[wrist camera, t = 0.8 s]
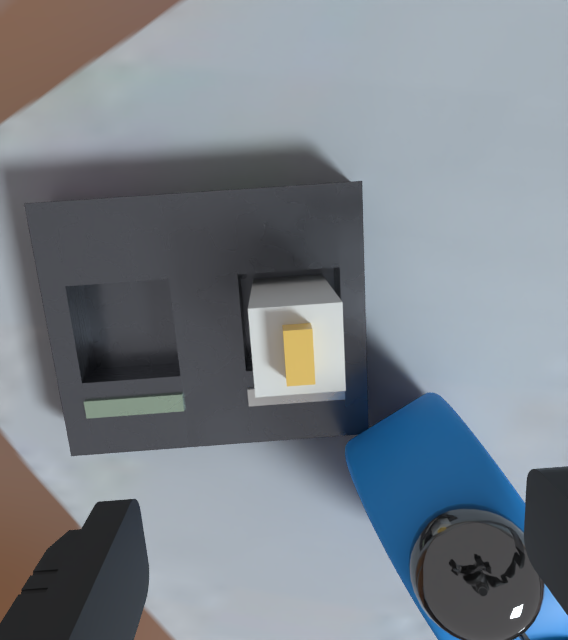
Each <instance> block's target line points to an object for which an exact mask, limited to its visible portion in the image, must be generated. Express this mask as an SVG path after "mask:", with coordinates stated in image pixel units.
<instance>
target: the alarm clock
mask: <svg viewBox="0 0 568 640" xmlns="http://www.w3.org/2000/svg"><path fill="white" fill-rule="evenodd" d="M345 457H346V462H347V466H348V469H349V472H350V475H351V478H352V480H353V483H354V485H355V488H356V490H357V493H358V495H359V497H360V499H361V502H362V504H363V506H364V508H365V510H366V513H367V515H368V517H369V519H370V521H371V523H372V525H373V527H374V529H375V531H376V533H377V535H378V537H379V539H380V541H381V543H382V545H383V547H384V549H385V551H386V553H387V554H388V556H389V558H390V560H391V562H392V564H393V565H394V567H395V569H396V571H397V573H398V574H399V576H400V578H401V580H402V582H403V583H404V585H405V587H406V588H407V590H408V592H409V594H410V595H411V597H412V599H413V600H414V602H415V604H416V605H417V607H418V609H419V610H420V612H421V614H422V615H423V617H424V618H425V620H426V622H427V623H428V625H429V626H430V628H431V629H432V631H433V632H434V634H435V636H436V637H437V639H438V640H568V615H567V614H566V613H565V611H564V610H563V608H562V607H561V606H560V604H559V603H558V602H557V600H556V599H555V597H554V596H553V595H552V593H551V592H550V590H549V589H548V588H547V586H546V585H545V584H544V582H543V581H542V579H541V578H540V577H539V575H538V574H537V572H536V571H535V570H534V568H533V566H532V564H531V563H530V560H529V558H528V555H527V552H526V548H525V543H524V521H525V503H524V501H523V500H522V498H521V497H520V496H519V494H518V493H517V491H516V490H515V489H514V487H513V486H512V484H511V483H510V482H509V480H508V479H507V478H506V476H505V475H504V473H503V472H502V471H501V469H500V468H499V467H498V465H497V464H496V463H495V461H494V460H493V459H492V457H491V456H490V455H489V453H488V452H487V451H486V449H485V448H484V447H483V445H482V444H481V443H480V442H479V440H478V439H477V438H476V436H475V435H474V434H473V433H472V431H471V430H470V429H469V428H468V426H467V425H466V424H465V423H464V421H463V420H462V419H461V418H460V417H459V415H458V414H457V413H456V412H455V411H454V410H453V408H452V407H451V406H450V405H449V404H448V403H447V402H446V401H445V400H444V399H443V398H442V397H441V396H439V395H438V394H435V393H426V394H424V395H422V396H421V397H419V398H417V399H416V400H414V401H413V402H411V403H409V404H408V405H406V406H405V407H403V408H401V409H400V410H398V411H396V412H395V413H393V414H392V415H390V416H388V417H387V418H385V419H383V420H382V421H380V422H379V423H377V424H375V425H374V426H372V427H370V428H369V429H367V430H366V431H364V432H362V433H361V434H359V435H357V436H356V437H354V438H353V439H351V440H350V441H349V442H348V443H347V444H346V447H345Z"/></svg>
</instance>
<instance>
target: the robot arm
mask: <svg viewBox="0 0 568 640" xmlns="http://www.w3.org/2000/svg"><path fill="white" fill-rule="evenodd" d="M524 543H525V548H526V552H527V555H528V558H529V560H530V563H531V564H532V566H533V568H534V570H535V571H536V572H537V574H538V575H539V577H540V578H541V579H542V581H543V582H544V584H545V585H546V586H547V588H548V589H549V590H550V592H551V593H552V595H553V596H554V597H555V599H556V600H557V602H558V603H559V604H560V606H561V607H562V608H563V610H564V611H565V613H566V614H567V615H568V466H567V467H554V468H541V469H532V470H531V471H530V472H529V474H528V477H527V486H526V503H525V521H524ZM148 585H149V563H148V557H147V550H146V544H145V537H144V531H143V524H142V518H141V511H140V506H139V503H138V501H137V500H136V499H128V500H115V501H102V502H97V503H96V504H95V506H94V508H93V509H92V511H91V513H90V515H89V516H88V518H87V520H86V522H85V524H84V525H83V527H82V529H80V530H69V531H68V532H67V533H66V534H64V535H63V536H62V537H61V538H60V539H59V540H57V541H56V542H55V543H54V544H53V545H52V546H50V548H48V549H47V550H46V552H45V553H44V555H43V557H42V558H41V560H40V561H39V563H38V564H37V566H36V568H35V569H34V571H33V575H32V576H30V577H29V579H28V580H27V582H26V583H25V585H24V587H23V588H22V592H21V594H20V595H18V597H17V598H16V599H15V601H14V602H13V604H12V606H11V607H10V609H9V610H8V612H7V614H6V615H5V617H4V618H3V620H2V622H1V623H0V640H134V637H135V634H136V630H137V627H138V624H139V621H140V617H141V614H142V611H143V608H144V604H145V601H146V597H147V593H148Z"/></svg>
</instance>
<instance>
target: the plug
mask: <svg viewBox="0 0 568 640" xmlns="http://www.w3.org/2000/svg"><path fill="white" fill-rule="evenodd" d="M248 317H249V329H250V341H251V352H252V364H253V376H254V388H255V398H256V397H269V396H283V395H296V394H310V393H323V392H337V391H346V382H345V356H344V329H343V302H342V301H341V300H340V298H339V297H338V295H337V294H336V293H335V291H334V290H333V289H332V287H331V286H330V285H329V283H328V282H327V281H326V279H325V278H324V276H323V275H322V274H320V275H306V276H291V277H277V278H263V279H253V282H252V288H251V294H250V299H249V305H248Z"/></svg>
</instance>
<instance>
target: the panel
mask: <svg viewBox="0 0 568 640" xmlns="http://www.w3.org/2000/svg"><path fill="white" fill-rule="evenodd" d="M25 210H26V215H27V220H28V226H29V231H30V236H31V242H32V247H33V253H34V258H35V263H36V269H37V274H38V279H39V285H40V290H41V296H42V301H43V306H44V312H45V317H46V322H47V328H48V333H49V339H50V344H51V349H52V355H53V360H54V366H55V371H56V376H57V382H58V387H59V392H60V398H61V403H62V409H63V414H64V419H65V425H66V430H67V435H68V441H69V446H70V452H71V456H78V455H92V454H105V453H118V452H131V451H145V450H158V449H171V448H184V447H198V446H211V445H224V444H237V443H251V442H264V441H277V440H290V439H304V438H317V437H330V436H343V435H357V434H361V433H362V432H364V431H366V430H367V429H369V428H368V390H367V352H366V314H365V276H364V238H363V200H362V181H356V182H341V183H326V184H311V185H296V186H281V187H266V188H251V189H236V190H221V191H206V192H191V193H176V194H161V195H146V196H131V197H116V198H101V199H86V200H71V201H56V202H41V203H26V204H25ZM320 274H322V275H323V276H324V278H325V279H326V281H327V282H328V283H329V285H330V286H331V287H332V289H333V290H334V291H335V293H336V294H337V295H338V297H339V298H340V300H341V301H342V302H343V329H344V356H345V382H346V391H337V392H323V393H310V394H296V395H283V396H269V397H256V398H255V388H254V376H253V364H252V352H251V341H250V329H249V317H248V305H249V299H250V294H251V288H252V282H253V279H263V278H277V277H291V276H306V275H320Z"/></svg>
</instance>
